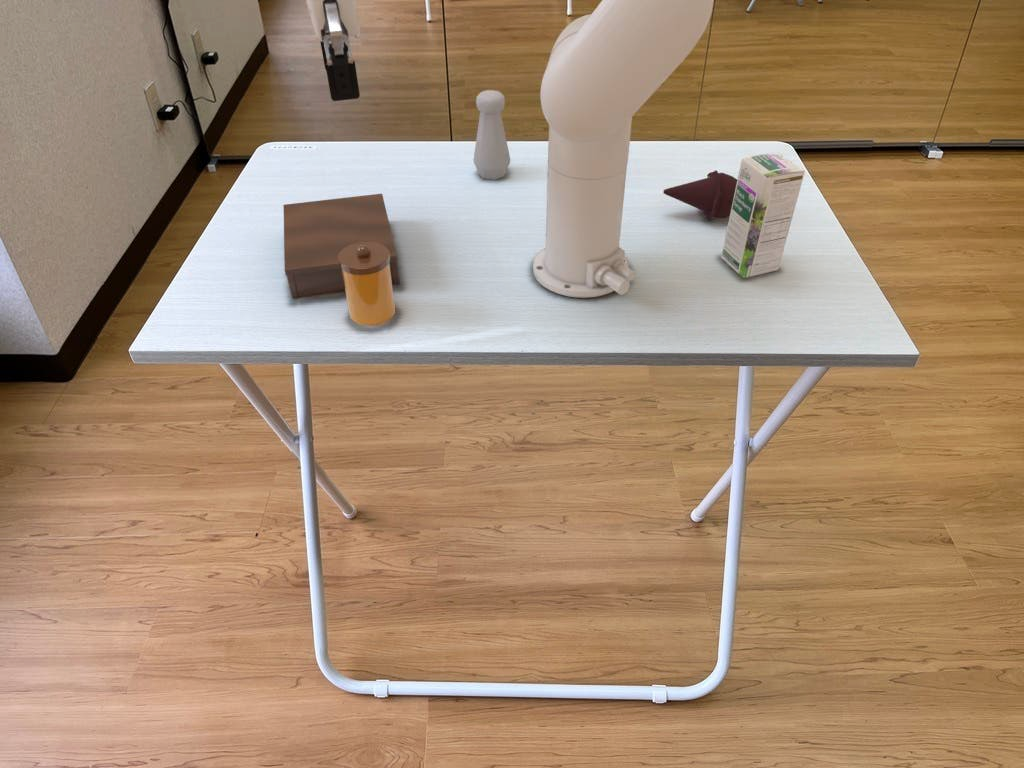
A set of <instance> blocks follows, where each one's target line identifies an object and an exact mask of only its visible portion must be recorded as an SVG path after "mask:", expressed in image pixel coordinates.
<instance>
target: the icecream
mask: <svg viewBox="0 0 1024 768" xmlns="http://www.w3.org/2000/svg"><path fill="white" fill-rule="evenodd" d="M706 176H707V177H705V178H701V179H699V180H694V181H691V182H687V183H683V184H680V185H676V186H671V187H668V188H665V189H663V191H662V193H663V194H664V195H666V196H667V197H669V198H673V199H675V200H678V201H679V202H681V203H684V204H687V205H689V206H691V207H693V208H696V209H697V210H700V211H702V213H703V214H704V215H705V217H706V220H707V221H710V220H711V219H713V218H714V219H727V218H728V217H729V218H730V213H731V208H732V204H733V199H734V194H735V189H736V184H737V180H738V178H736V177H734V176H733V175H730V174H727V173H724V172H718V170H716V169H715V170H714V171H711V172H709V173H708V174H706Z"/></svg>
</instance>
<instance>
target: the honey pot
mask: <svg viewBox="0 0 1024 768" xmlns="http://www.w3.org/2000/svg"><path fill="white" fill-rule="evenodd" d="M338 261H339V266H340V268H341V270H342V276H343V281H344V287H345V292H344V293H345V298H346V304H347V309H348V314H349V318H350V320H351V321H353V322H354V323H356V324H358V325H361V326H368V327H369V326H378V325H381V324H384V323H387V322H388V321H390V320H391V319H392V318H393V317H394V316H395V314H396V303H395V296H394V288H393V285H392V280H391V272H390V264H389V262H390V254H389V250H388V249H387V248H386V247H385V246H384V245H382V244H379V243H375V242H360V243H355V244H352V245H349V246H347V247H346V248H344V249H343V250H342V251H341V252H340V253H339V256H338Z"/></svg>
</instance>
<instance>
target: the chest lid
mask: <svg viewBox="0 0 1024 768" xmlns="http://www.w3.org/2000/svg"><path fill="white" fill-rule="evenodd" d="M282 205H283V206H282V207H283V208H282V209H283V252H284V254H283V255H284V256H283V258H284V273H285V276H287V275H293V274H301V273H309V272H317V271H324V270H332V269H340V266H339V261H338V256H339V253H340V252H341V251H342V250H343V249H344V248H346V247H347V246H349V245H352V244H355V243H360V242H375V243H379V244H382V245H384V246H385V247H386V248H387V249H388V250H389V254H390V262H394V261H397V262H398V255H397V250H396V248H395V247H396V246H395V243H394V239H393V234H392V230H391V229H392V228H391V226H390V220H389V217H388V212H387V208H386V204H385V200H384V194H383V193H374V194H366V195H365V194H364V195H356V196H348V197H338V198H329V199H322V200H314V201H313V200H312V201H304V202H295V203H286V204H285V203H284V204H282Z"/></svg>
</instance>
